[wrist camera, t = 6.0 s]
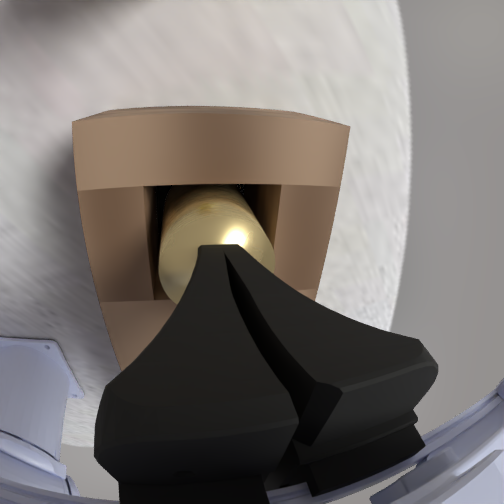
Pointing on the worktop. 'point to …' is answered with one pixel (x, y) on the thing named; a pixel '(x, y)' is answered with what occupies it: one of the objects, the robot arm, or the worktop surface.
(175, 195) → the brass peg
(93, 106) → the worktop surface
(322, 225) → the walnut peg board
